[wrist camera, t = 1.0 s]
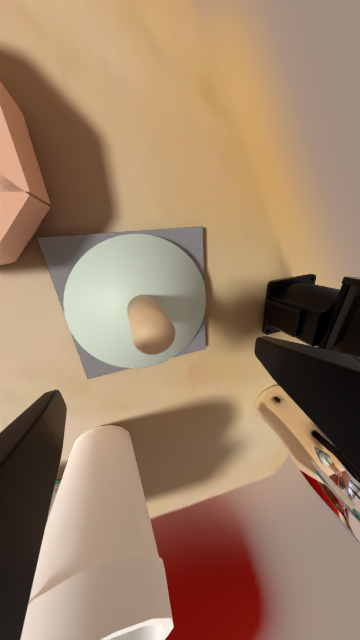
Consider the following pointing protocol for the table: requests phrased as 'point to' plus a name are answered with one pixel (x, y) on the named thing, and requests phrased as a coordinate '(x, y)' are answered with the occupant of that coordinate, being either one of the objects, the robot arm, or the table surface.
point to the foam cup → (99, 551)
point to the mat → (70, 249)
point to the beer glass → (314, 456)
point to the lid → (134, 300)
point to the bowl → (18, 182)
